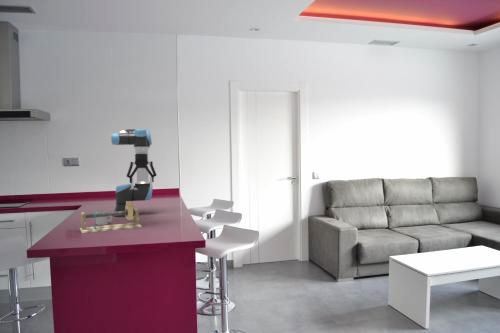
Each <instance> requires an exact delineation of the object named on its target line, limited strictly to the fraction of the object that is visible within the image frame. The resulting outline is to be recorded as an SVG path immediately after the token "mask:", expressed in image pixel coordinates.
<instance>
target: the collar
mask: <svg viewBox="0 0 500 333" xmlns="http://www.w3.org/2000/svg"><path fill="white" fill-rule="evenodd" d="M132 205H133V201H126V206H125V211H127V215H125V219H126V220H127V221H132V220H133V221H134V215H133V208H134V206H133V207H132Z"/></svg>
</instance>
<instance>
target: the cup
mask: <svg viewBox="0 0 500 333" xmlns="http://www.w3.org/2000/svg"><path fill="white" fill-rule="evenodd" d="M105 212H109V210H108V209H99V210H96V211H95V213H105ZM95 220H96V223H95V224H96V226H106V225H109V223H110V222H112V220H113V216H106V217H97V218H95Z"/></svg>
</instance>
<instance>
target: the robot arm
mask: <svg viewBox="0 0 500 333" xmlns="http://www.w3.org/2000/svg"><path fill="white" fill-rule="evenodd" d="M151 136H152V135H151V131H150V130H149V129H143V128H137V129H130V128H129V129H124V130H123V129H122V130H120V131H118V132H114V133H111V137H110V138H111V139H110V140H111V145H114V146H126V145H127V146H130V145H132V146H133V147H134V161H130V163H129V168H128V170H127V173H126V178H129V183H126V184H120V185H118V186H116V187H115V209H114V211H113V212H117V211H125V206H126V201H132V202H138V201H139V202H140V201H141V202H142V201H143V202H145V201H150V200H151V199H152V195H153V183H154V182H155V181H154V180H155V179H154V178H155V177H157V172H156V170H155V167H154V165H153V164H154V163H153V160H152V161H149V149H150V147H151V146H152V144H153V143H152V137H151ZM133 166H135V167H134V169H133ZM149 167H150V168H149ZM132 169H133V170H132ZM135 174H136V181H135V183H134V176H135ZM149 176H150V177H149ZM132 207H133V210H134V209H135V208H134V206H133V204H132ZM133 216H134V214H133ZM115 217H119V218H121V217H123V218H124V217H125V218H126V216H125V215H118V216H115Z"/></svg>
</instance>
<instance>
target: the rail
mask: <svg viewBox="0 0 500 333" xmlns="http://www.w3.org/2000/svg"><path fill="white" fill-rule="evenodd" d="M139 210H140V209H139V208H134V210H133V214H134V215H133V221H134V222H129V223H121V224H120V223H119V224H107V225H96V226H89V227H88V226H87V222H86V220H87V219H96V218H97V217H106V216H108V217H110V216H112V217H116V216H118V215H127V211H117V212H114V211H108V212H105V213H96V212H92V213H86V212H81V213H80V216H81V217H80V220H81V222H80V223H81V227H79V231H80V232H81V233H82V234H89V233H100V232H107V231H108V232H109V231H119V230H129V229H130V230H131V229H139V228H142V225H141V224H140V215H139V214H140V211H139Z"/></svg>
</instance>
